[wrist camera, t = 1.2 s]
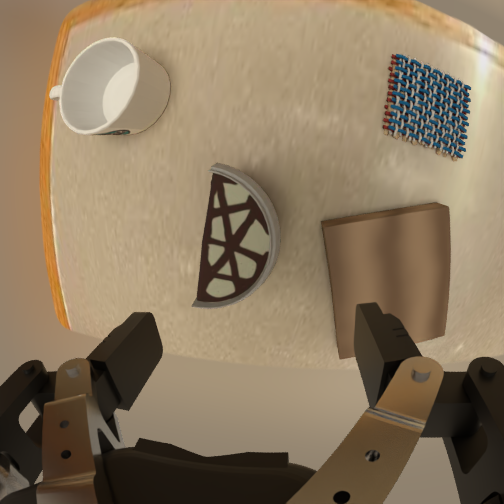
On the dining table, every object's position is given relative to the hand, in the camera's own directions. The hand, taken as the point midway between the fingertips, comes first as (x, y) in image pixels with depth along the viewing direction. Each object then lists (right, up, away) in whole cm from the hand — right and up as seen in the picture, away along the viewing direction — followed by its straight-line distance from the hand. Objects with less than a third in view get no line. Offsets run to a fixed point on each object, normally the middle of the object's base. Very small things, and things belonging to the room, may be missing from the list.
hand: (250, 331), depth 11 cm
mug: (-15, +22, +18) cm, 32 cm away
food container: (0, +6, +20) cm, 21 cm away
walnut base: (+16, 0, +20) cm, 25 cm away
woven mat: (+19, +19, +14) cm, 31 cm away
